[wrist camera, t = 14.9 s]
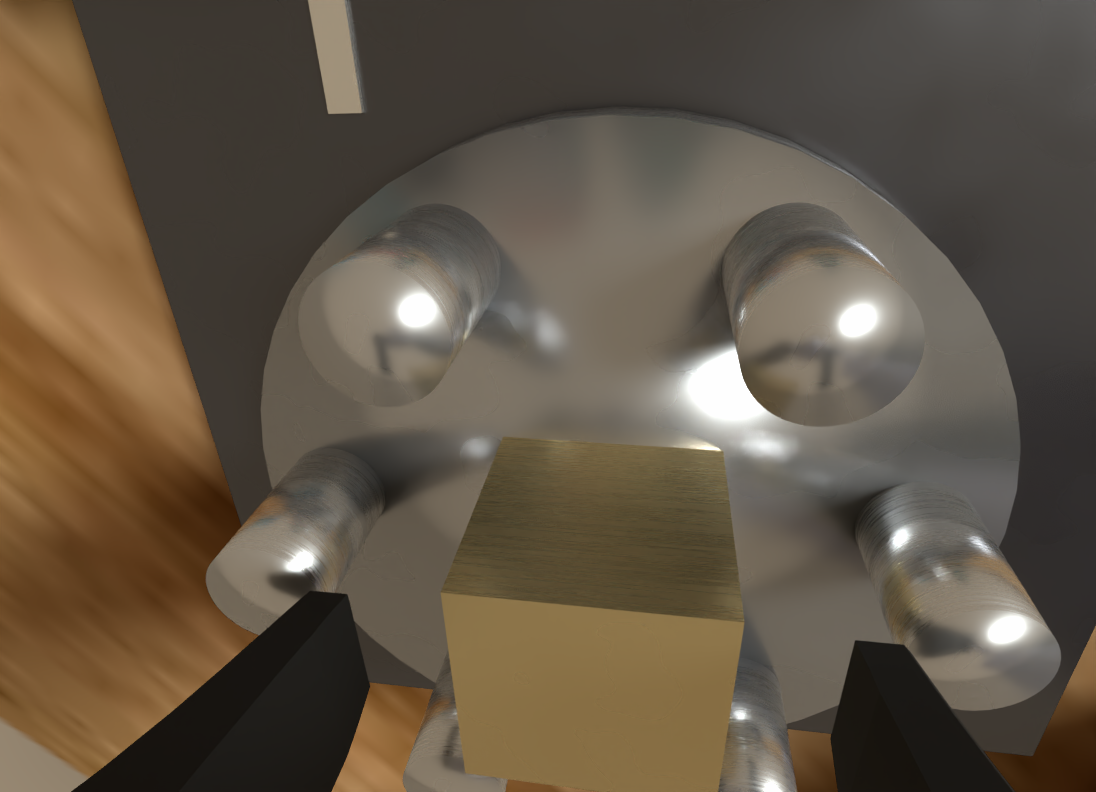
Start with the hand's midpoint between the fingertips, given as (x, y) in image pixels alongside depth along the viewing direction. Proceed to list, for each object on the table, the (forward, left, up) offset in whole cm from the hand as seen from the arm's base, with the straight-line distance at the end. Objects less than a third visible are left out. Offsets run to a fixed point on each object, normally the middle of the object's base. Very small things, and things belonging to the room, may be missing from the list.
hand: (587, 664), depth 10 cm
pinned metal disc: (0, 0, -6) cm, 6 cm away
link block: (0, +1, -4) cm, 4 cm away
